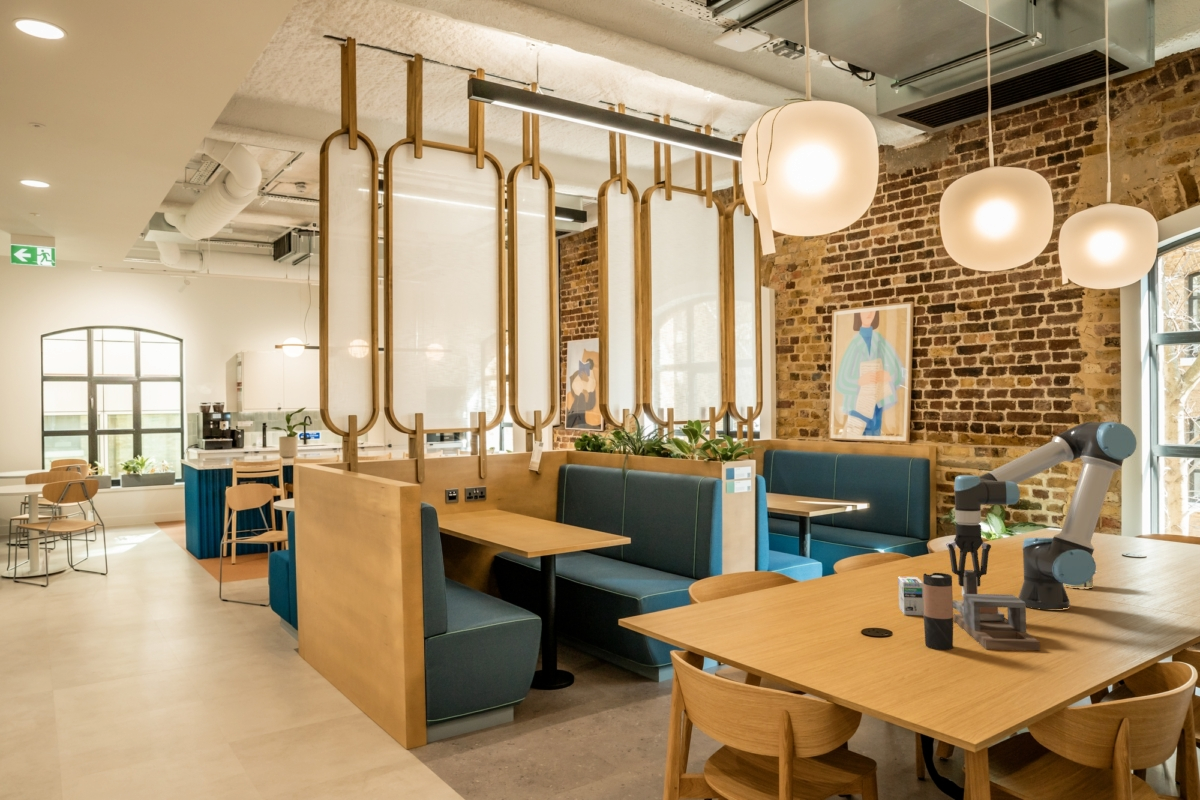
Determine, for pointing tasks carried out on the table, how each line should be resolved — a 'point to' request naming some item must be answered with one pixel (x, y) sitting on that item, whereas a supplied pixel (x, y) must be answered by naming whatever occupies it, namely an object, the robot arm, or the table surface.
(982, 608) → the block
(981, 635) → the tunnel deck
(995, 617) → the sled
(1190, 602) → the table surface
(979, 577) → the robot arm
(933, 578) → the travel mug
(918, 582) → the light bulb box
